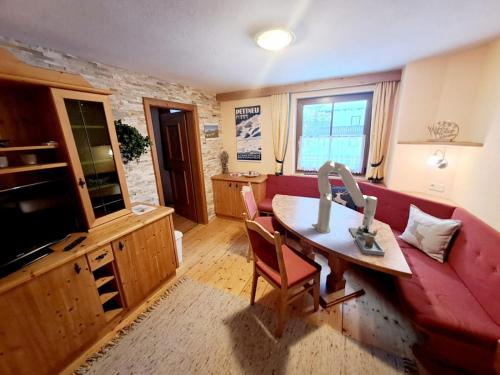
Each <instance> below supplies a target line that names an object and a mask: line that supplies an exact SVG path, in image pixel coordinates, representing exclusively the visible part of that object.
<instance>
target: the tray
mask: <svg viewBox="0 0 500 375" xmlns="http://www.w3.org/2000/svg"><path fill="white" fill-rule="evenodd" d="M355 241H356V242H357V245H358V247H359V248H360V249H361V251H362V253H363V254H367V255H374V256H375V255H376V256H377V255H378V256H385V252H386V251H385V250H384V249H383V247H382V246H381V245H380V243H379V242H378V241H377V240H376V238H375V237H374V242H373V247H372V248H369V247H366V246H365V241H366V237H362V236H356V237H355Z"/></svg>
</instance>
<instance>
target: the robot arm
mask: <svg viewBox="0 0 500 375" xmlns="http://www.w3.org/2000/svg"><path fill="white" fill-rule="evenodd" d="M332 172H333V173H336V174H338V176H339V178H340V180H341V182H342V183H343V184H344V187H345V189H346V190H347V192H348V193H349V196H350V198H352V201H353V203H354V204H355V206H356V207H357V208H364V209H363V219H362V223H361V224H362V227H363V228H364V230H363V233H366V234H367V233H368V231H370V230H369V229H370V227H371V226H372V225H373V224H374V219H375V218H374V217H375V214H376V208H377V205H378V198H377V197H375V196H371V195H364V194H363V193H362V191H361V189H360V187H359V184H358V182H357V180H356V179H355V177H354V175H353V174H352V172H351V169H350V167H349V166H348V165H346V164H343V163H340V162H337V161H334V160H326V162H324V164H322V165H321V166H320V167H319V168H318V170H317V184H318V185H317V186H318V192H319V194H320V198H319V201H318V213H317V215H318V216H317V222H316V223H311V227H313V228H314V229H315V230H316V232H318V233H321V234H322V233H323V234H327V233H330V232H331V228H330V226H329V225H330V219H331V213H332V212H331V210H332V202H333V192H332V186H331V183H330V177H329V175H330V173H332Z"/></svg>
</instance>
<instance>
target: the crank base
mask: <svg viewBox="0 0 500 375" xmlns="http://www.w3.org/2000/svg"><path fill="white" fill-rule="evenodd" d="M348 230H349V231H350V234H351V235H352V237H354V238H356V236H362V237H366V235H370V234H368V233H367V234H366V233H363V231H359V230H358V227H357V228H355V227H348Z"/></svg>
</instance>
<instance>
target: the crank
mask: <svg viewBox="0 0 500 375" xmlns="http://www.w3.org/2000/svg"><path fill="white" fill-rule="evenodd" d="M363 227H364V226H358V227H357V229H358V230H359V231H363V230H364V228H363ZM378 231H379V230H378V229H375V230H373V231H370V230H369V231H368V234H370V235H373V236H374V237H377V233H378Z"/></svg>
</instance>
